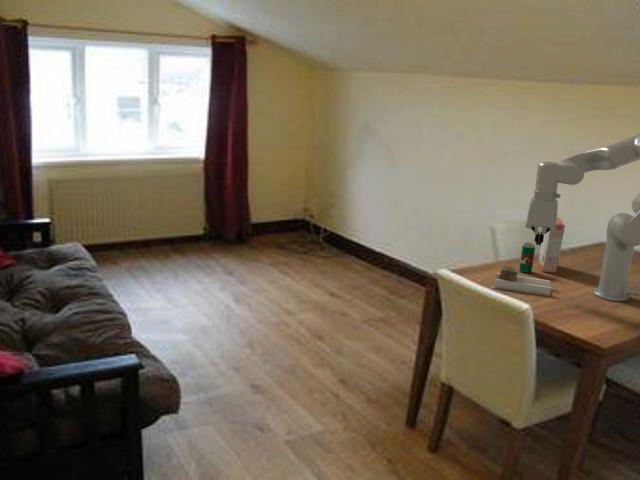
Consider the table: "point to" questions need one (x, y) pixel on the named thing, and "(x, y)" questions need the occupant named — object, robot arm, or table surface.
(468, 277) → the table surface
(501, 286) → the chute
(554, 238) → the cracker box
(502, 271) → the walnut block
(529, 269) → the soda can
